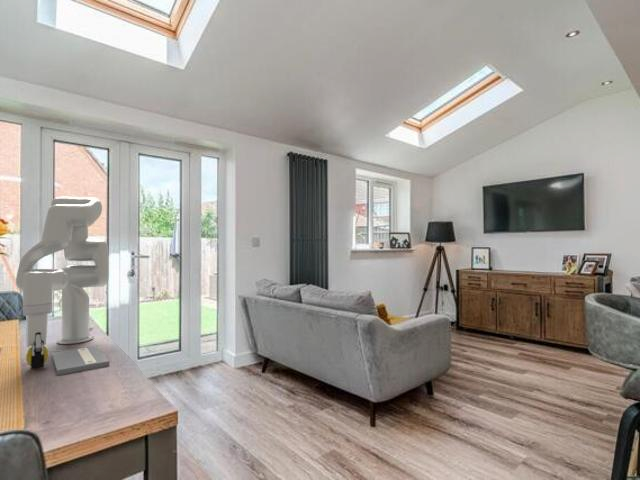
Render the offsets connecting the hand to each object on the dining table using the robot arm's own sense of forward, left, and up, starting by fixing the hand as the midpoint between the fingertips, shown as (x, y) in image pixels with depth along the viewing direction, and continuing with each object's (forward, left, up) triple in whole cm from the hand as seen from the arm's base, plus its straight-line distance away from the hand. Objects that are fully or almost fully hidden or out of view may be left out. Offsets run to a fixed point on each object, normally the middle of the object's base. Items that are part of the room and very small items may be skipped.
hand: (37, 364), depth 118 cm
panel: (-7, +9, -1) cm, 12 cm away
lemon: (0, 0, -1) cm, 1 cm away
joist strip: (-8, +11, 0) cm, 14 cm away
